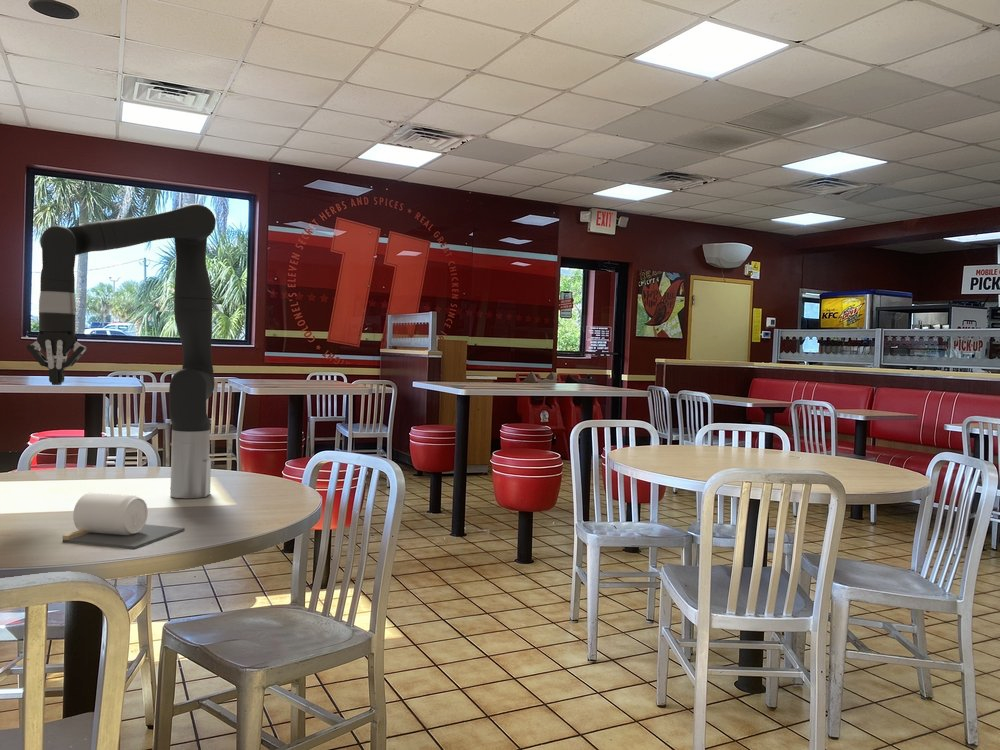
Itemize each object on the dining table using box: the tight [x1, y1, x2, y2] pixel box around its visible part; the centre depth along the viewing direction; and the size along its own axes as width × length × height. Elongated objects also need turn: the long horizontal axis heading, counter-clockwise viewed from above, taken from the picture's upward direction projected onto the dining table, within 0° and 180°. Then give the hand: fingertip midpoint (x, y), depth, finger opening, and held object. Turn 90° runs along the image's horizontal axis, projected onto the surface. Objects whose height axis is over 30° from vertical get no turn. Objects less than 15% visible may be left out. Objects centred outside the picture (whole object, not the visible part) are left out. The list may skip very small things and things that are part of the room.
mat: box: [62, 523, 186, 550], centre depth 157 cm, size 16×16×1 cm
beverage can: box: [72, 492, 149, 535], centre depth 157 cm, size 8×8×12 cm
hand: (56, 384), depth 181 cm, fingers closed
